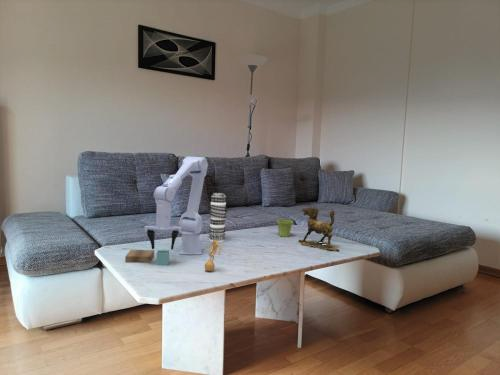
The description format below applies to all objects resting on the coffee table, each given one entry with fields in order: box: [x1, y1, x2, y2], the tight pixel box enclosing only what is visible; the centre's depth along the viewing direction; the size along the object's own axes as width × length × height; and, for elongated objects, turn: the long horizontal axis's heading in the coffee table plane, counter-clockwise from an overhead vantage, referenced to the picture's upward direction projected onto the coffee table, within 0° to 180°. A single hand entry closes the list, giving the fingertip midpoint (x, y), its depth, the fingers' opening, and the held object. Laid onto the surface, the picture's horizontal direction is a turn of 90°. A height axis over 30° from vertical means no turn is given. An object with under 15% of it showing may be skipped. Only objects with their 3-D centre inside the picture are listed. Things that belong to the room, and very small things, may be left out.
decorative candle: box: [208, 192, 228, 243], centre depth 190 cm, size 9×9×25 cm
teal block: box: [155, 249, 170, 266], centre depth 148 cm, size 4×4×5 cm
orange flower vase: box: [204, 241, 222, 272], centre depth 142 cm, size 8×6×12 cm
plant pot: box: [276, 219, 294, 238], centre depth 208 cm, size 9×9×9 cm
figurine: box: [298, 206, 340, 252], centre depth 188 cm, size 13×25×20 cm, turn 41°
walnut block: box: [125, 249, 155, 264], centre depth 153 cm, size 10×10×3 cm
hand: (162, 248), depth 147 cm, fingers open, 7 cm apart
